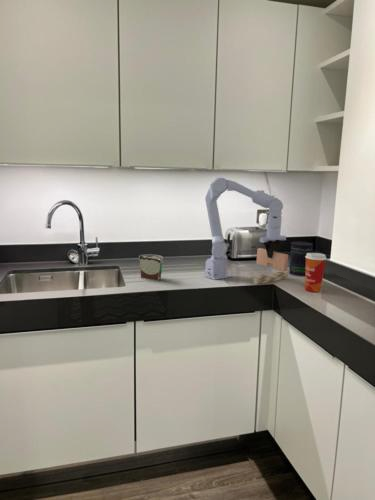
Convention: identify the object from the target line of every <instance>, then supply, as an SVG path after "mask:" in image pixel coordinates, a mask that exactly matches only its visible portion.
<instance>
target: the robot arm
mask: <svg viewBox="0 0 375 500" xmlns="http://www.w3.org/2000/svg"><path fill="white" fill-rule="evenodd" d="M226 191H227V192H232V191H233V192H234V191H235V192H236V193H238V194H242V195H243V196H246V197H249V198H250V199H251V202H252V203H254V204H256V205H258V206H260V207H262V208H264V209H268V215H267V227H266V235H265V236H260V237H259V243H263V245H264V247H265V248H264V249H266V251H267V256H268V258H272V257H273V251H274V252H279V251H280V248H281V246H282V245H283V243H284V242H283V241H286V240H287V235H281V232H282V231H281V229H282V219H283V218H282V211H283V209H284V205H283V202H282V201H281V200H280V199H279V198H277V197H275V195H270V194H268V193H266V192H265V190H264V189H262V190H256V191H254V190H253V189H250V188H248V187H246V186H245V185H243V184H240V183H238V182H237V181H233V180H231V179H226V178H225V177H217V178H215V179H214V180H213V181H212V182H211V183H210V184H209V188H208V190H207V192H206V195H205V198H204V199H205V204H206V210H207V211H206V212H207V215H208V221H209V227H210V233H211V237H212V238H211V242H212V248H211V254H212V255H211V256H210V258H207V259H206V260H205V267H204V270H205V271H204V272H205V273H204V275H203V276H204V277H206V278H209V279H211V280H215V281H216V280H220V279H221V280H222V279H228V278H231V275H229V274H228V273H227V271H228V255H227V254H226V253H227V252H228V249H229V248H228V245H227V243H226V242H225V237H224V235H223V230H222V223H221V217H220V213H219V212H220V211H219V207H218V202H217V201H218V200H219V198H220V197H221V195H222V194H223V193H225V192H226Z"/></svg>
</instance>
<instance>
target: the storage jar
mask: <svg viewBox="0 0 375 500" xmlns="http://www.w3.org/2000/svg"><path fill="white" fill-rule="evenodd" d="M313 246H314V243H312V242H309V241H308V242H307V241H299V240H298V241H297V240H296V241H292V242H291V245H290V261H289V269H288V270H289V271H288V275H289V274H290V276H291V275H292V276H296V277H305V271H306V258H305V256H306V254H307V253H313Z"/></svg>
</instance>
